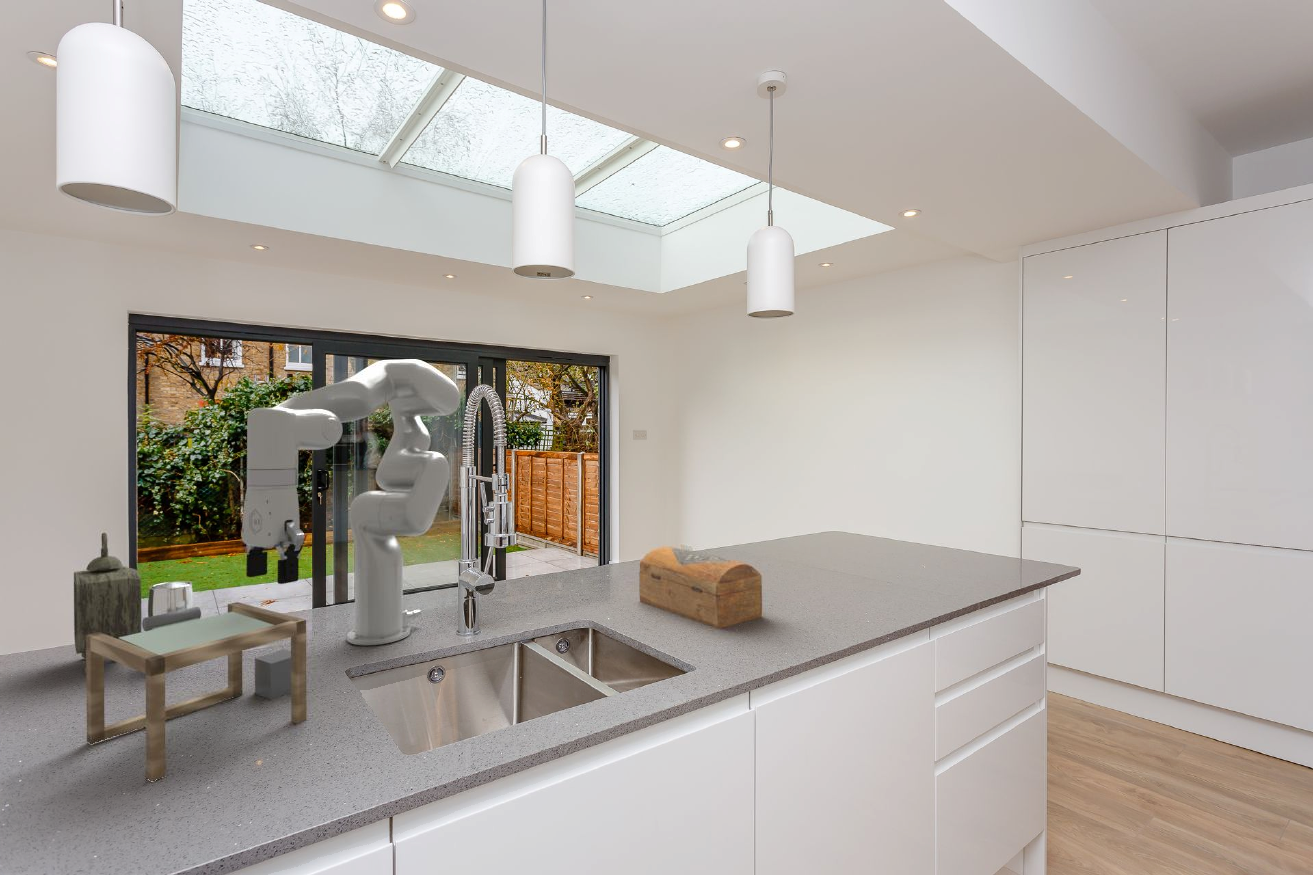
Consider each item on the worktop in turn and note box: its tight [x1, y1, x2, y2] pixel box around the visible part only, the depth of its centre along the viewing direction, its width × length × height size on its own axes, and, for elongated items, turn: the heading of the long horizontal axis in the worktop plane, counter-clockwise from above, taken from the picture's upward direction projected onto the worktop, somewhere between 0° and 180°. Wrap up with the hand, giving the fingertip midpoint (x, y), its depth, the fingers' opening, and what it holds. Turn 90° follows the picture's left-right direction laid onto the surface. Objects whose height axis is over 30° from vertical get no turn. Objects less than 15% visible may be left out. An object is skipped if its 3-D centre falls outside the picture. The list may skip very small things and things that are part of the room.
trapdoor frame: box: [85, 601, 308, 782], centre depth 93 cm, size 20×20×16 cm
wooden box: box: [638, 546, 763, 629], centre depth 158 cm, size 30×16×14 cm, turn 37°
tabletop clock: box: [73, 532, 142, 673], centre depth 121 cm, size 14×9×25 cm, turn 45°
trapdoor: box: [119, 606, 273, 655], centre depth 94 cm, size 15×17×2 cm
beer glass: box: [147, 580, 195, 617], centre depth 121 cm, size 7×7×15 cm
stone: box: [254, 649, 291, 700], centre depth 108 cm, size 5×5×6 cm
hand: (272, 579), depth 108 cm, fingers open, 9 cm apart
